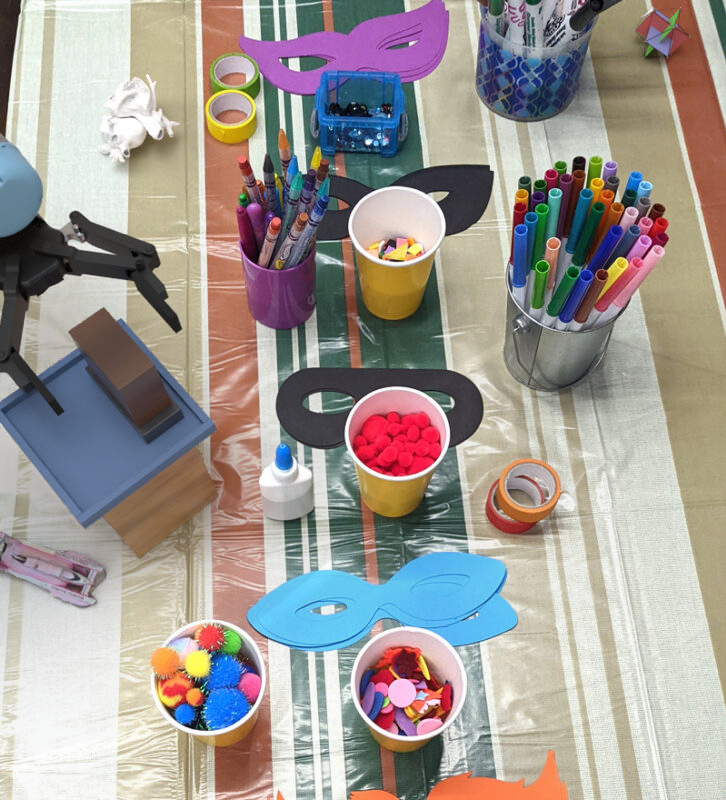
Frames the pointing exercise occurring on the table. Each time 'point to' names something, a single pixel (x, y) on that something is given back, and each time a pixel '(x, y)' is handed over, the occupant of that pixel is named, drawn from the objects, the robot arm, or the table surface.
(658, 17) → the geometric puzzle
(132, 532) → the wooden block
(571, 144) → the table surface
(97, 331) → the brown angled block
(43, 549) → the pink toy racer
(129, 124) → the heart
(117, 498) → the tray
